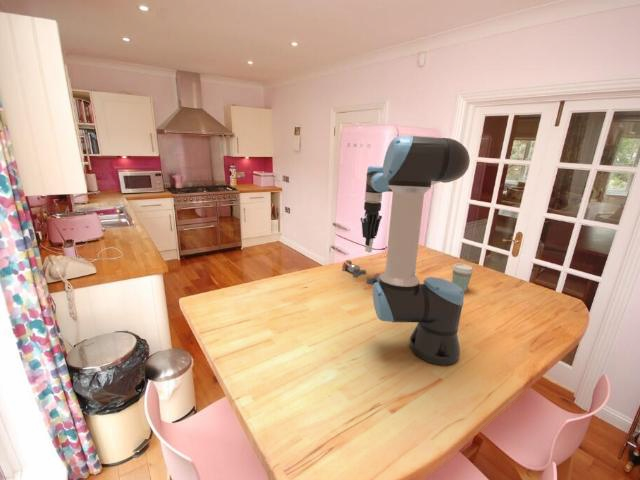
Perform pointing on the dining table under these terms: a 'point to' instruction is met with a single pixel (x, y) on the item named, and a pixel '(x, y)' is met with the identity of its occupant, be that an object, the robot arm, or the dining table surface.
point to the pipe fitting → (359, 272)
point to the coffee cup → (462, 275)
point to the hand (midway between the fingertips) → (368, 251)
